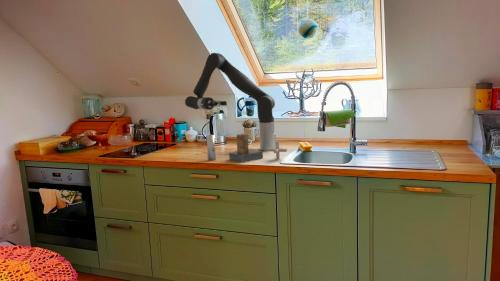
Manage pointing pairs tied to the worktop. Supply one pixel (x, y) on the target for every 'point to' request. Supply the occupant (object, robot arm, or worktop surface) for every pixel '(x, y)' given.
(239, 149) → the square walnut bit
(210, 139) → the round metal bit
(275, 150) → the pipe connector
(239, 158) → the socket block
